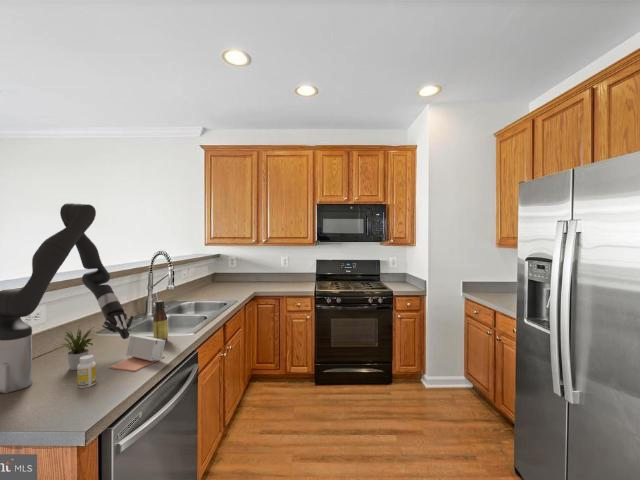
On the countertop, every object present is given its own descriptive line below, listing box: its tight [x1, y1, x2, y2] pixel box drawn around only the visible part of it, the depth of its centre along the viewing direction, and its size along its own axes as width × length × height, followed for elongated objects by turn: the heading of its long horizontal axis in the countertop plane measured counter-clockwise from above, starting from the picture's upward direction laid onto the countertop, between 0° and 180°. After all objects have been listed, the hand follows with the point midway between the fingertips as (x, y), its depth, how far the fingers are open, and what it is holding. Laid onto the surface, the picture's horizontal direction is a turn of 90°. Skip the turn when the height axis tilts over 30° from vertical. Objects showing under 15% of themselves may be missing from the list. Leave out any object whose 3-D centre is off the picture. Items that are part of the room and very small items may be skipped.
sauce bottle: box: [152, 299, 169, 342], centre depth 168 cm, size 7×6×20 cm
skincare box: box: [125, 335, 166, 361], centre depth 143 cm, size 8×6×15 cm
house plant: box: [52, 325, 95, 371], centre depth 133 cm, size 14×14×16 cm
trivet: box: [109, 355, 165, 373], centre depth 140 cm, size 16×12×1 cm
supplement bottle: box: [76, 354, 97, 389], centre depth 119 cm, size 5×5×10 cm
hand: (126, 337), depth 145 cm, fingers closed
